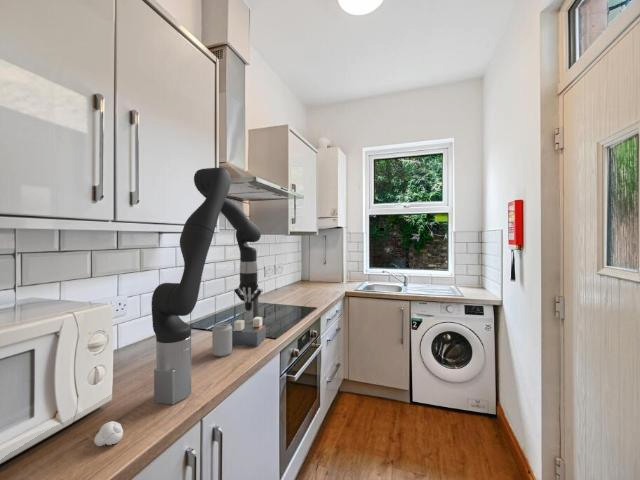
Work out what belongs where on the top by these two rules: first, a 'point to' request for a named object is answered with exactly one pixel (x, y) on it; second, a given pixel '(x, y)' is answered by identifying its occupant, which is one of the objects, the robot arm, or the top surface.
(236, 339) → the grey storage bin
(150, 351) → the top surface
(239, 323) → the toggle near
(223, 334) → the can
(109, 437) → the microfossil shell
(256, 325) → the toggle far
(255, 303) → the post
